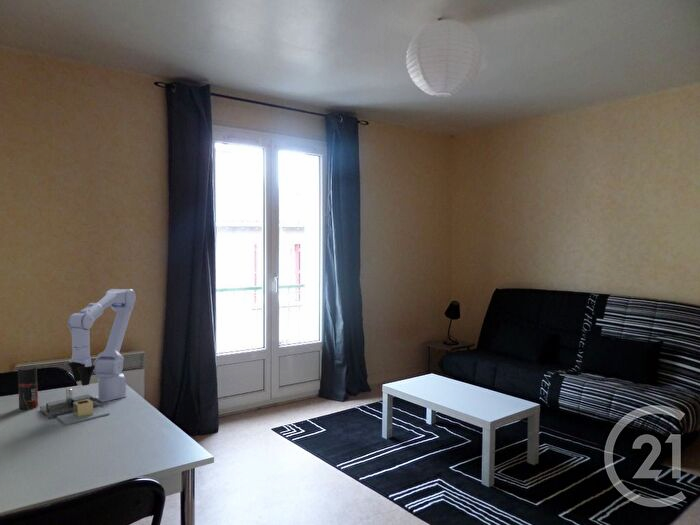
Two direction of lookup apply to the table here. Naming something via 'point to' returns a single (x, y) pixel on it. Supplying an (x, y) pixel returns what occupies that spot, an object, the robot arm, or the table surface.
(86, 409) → the collar
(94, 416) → the mat
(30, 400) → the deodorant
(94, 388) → the table surface
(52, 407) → the vise
